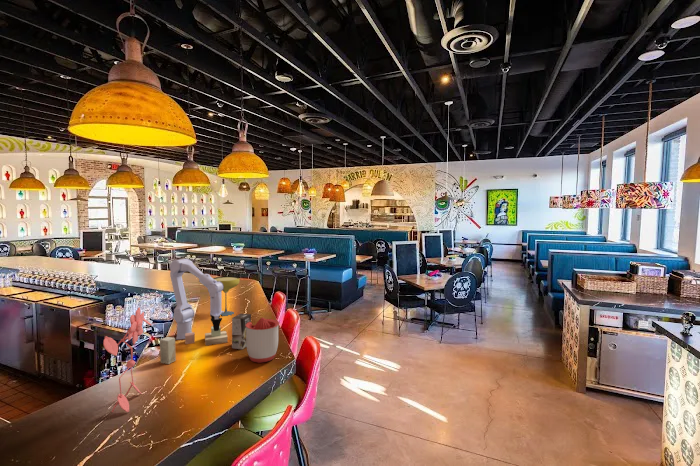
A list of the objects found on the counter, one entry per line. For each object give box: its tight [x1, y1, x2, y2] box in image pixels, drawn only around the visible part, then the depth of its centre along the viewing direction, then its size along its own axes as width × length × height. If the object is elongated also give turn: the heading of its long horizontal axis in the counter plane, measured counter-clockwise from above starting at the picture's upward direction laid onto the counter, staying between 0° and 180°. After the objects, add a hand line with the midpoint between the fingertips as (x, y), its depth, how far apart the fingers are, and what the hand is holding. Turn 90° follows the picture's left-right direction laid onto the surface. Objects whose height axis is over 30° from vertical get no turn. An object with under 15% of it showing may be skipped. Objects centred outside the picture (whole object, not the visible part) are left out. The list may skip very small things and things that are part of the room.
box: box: [159, 336, 177, 365], centre depth 157 cm, size 5×4×11 cm
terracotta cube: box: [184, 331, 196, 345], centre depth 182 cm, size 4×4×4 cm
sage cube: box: [210, 325, 221, 337], centre depth 184 cm, size 4×4×4 cm
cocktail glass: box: [212, 275, 240, 317], centre depth 234 cm, size 18×18×25 cm
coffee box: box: [231, 313, 252, 350], centre depth 177 cm, size 9×6×16 cm
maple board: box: [204, 330, 228, 346], centre depth 184 cm, size 11×11×3 cm
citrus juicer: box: [246, 317, 280, 364], centre depth 163 cm, size 16×17×20 cm
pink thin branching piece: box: [103, 307, 153, 413], centre depth 122 cm, size 15×26×35 cm, turn 11°
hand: (215, 328), depth 184 cm, fingers open, 7 cm apart
